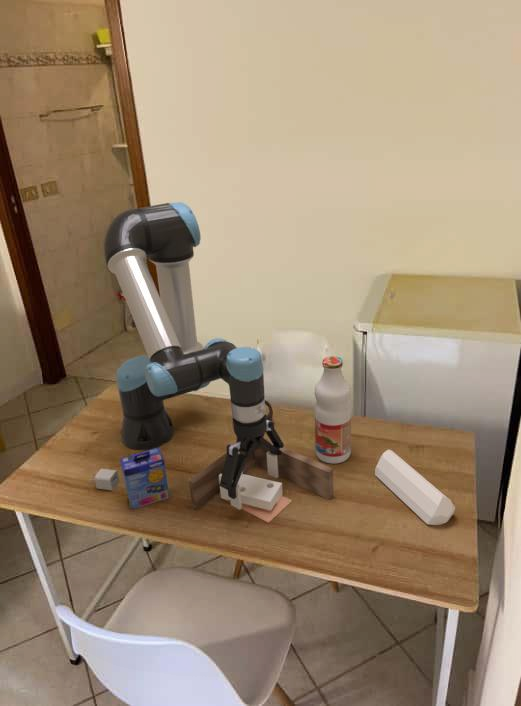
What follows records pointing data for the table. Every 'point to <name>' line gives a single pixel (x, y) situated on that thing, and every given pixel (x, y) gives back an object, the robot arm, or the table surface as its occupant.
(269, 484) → the bracket
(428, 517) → the crystal
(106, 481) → the usb wall charger
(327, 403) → the fruit juice
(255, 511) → the pad
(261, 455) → the corner walls
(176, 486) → the table surface
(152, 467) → the ink cartridge box
